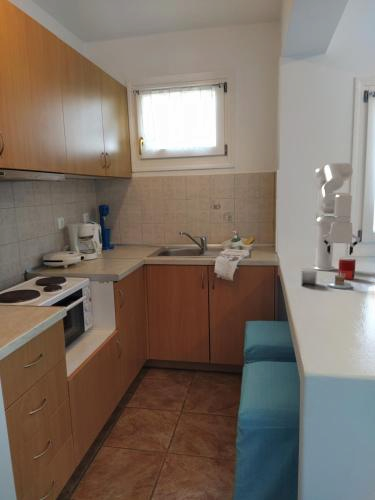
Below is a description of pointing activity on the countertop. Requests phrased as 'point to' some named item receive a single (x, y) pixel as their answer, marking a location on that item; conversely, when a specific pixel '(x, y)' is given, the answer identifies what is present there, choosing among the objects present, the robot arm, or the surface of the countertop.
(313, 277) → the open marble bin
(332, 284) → the dish
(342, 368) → the countertop surface
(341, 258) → the canned food
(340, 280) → the block
